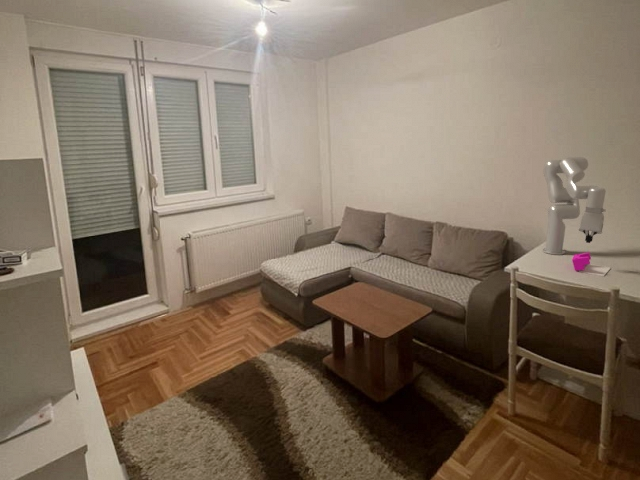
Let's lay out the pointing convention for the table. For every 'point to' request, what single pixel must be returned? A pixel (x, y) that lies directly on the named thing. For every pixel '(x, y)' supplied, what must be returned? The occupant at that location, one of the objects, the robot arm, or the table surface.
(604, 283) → the table surface
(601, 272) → the mat
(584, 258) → the toy block
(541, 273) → the table surface
